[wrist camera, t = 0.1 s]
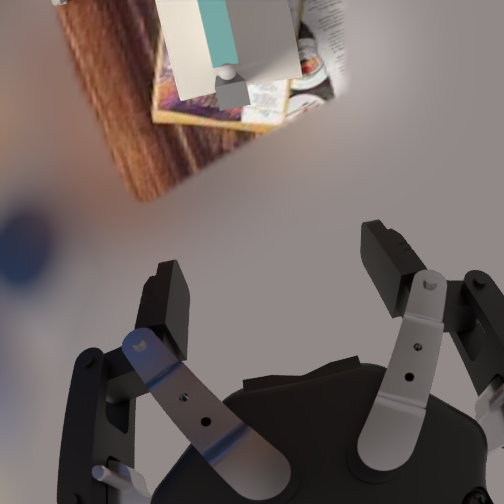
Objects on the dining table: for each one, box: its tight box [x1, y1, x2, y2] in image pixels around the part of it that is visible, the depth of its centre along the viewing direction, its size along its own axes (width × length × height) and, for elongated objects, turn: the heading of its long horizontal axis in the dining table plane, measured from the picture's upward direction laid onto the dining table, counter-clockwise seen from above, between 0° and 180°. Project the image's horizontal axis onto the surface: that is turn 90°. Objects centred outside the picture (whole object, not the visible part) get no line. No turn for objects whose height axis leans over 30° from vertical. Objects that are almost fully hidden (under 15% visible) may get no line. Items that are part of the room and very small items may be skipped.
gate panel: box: [197, 0, 239, 80], centre depth 22 cm, size 16×2×13 cm, turn 11°
